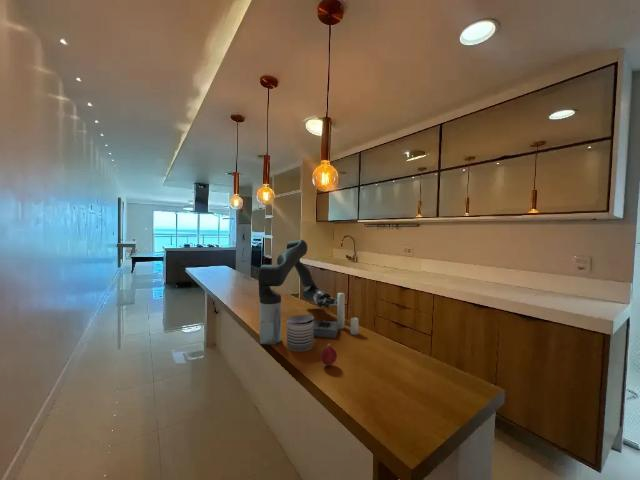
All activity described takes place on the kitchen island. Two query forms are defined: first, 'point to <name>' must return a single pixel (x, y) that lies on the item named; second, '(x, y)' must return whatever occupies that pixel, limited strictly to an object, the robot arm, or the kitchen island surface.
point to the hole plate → (325, 328)
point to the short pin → (354, 326)
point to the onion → (328, 355)
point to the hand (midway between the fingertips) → (335, 305)
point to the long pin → (340, 309)
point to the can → (300, 332)
